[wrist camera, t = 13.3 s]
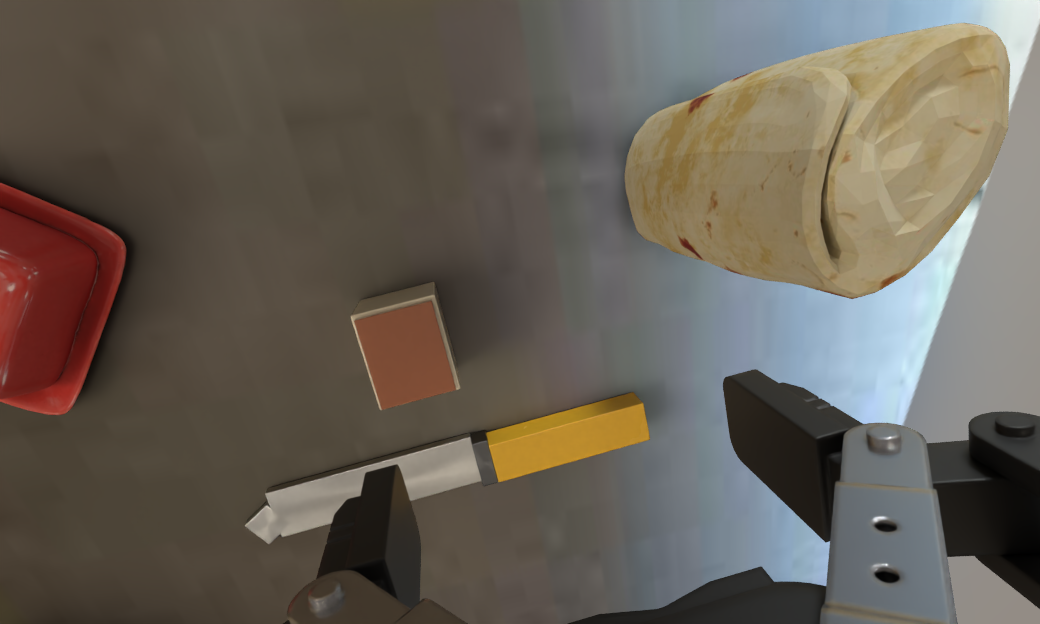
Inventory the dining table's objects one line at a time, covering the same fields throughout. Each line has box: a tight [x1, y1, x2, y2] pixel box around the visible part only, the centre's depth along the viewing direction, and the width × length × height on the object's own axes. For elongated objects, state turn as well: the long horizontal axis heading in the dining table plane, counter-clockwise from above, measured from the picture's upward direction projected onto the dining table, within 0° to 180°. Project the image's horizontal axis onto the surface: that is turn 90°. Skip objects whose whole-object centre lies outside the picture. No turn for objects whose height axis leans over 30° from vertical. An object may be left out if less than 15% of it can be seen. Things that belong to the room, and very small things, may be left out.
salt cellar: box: [351, 282, 460, 410], centre depth 35 cm, size 5×6×4 cm
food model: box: [624, 23, 1010, 299], centre depth 27 cm, size 10×7×20 cm
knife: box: [245, 392, 650, 544], centre depth 38 cm, size 26×3×2 cm, turn 103°
